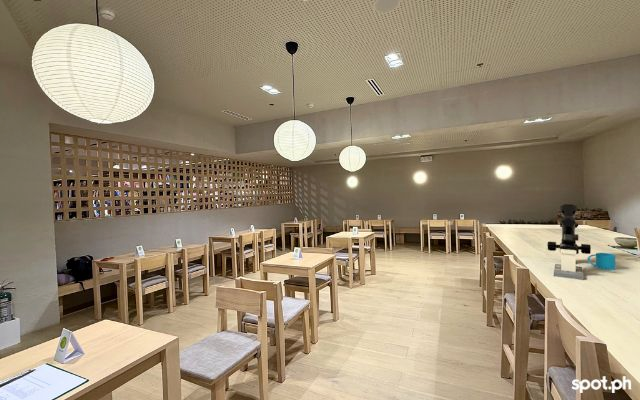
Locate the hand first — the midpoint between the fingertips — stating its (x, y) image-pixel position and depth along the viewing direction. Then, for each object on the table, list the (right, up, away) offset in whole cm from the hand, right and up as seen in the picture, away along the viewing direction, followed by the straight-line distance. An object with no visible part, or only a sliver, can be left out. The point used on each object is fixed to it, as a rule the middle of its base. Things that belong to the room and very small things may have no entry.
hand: (568, 259), depth 162 cm
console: (+1, -8, +1) cm, 8 cm away
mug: (+28, -7, +10) cm, 31 cm away
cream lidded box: (-1, -6, -1) cm, 6 cm away
